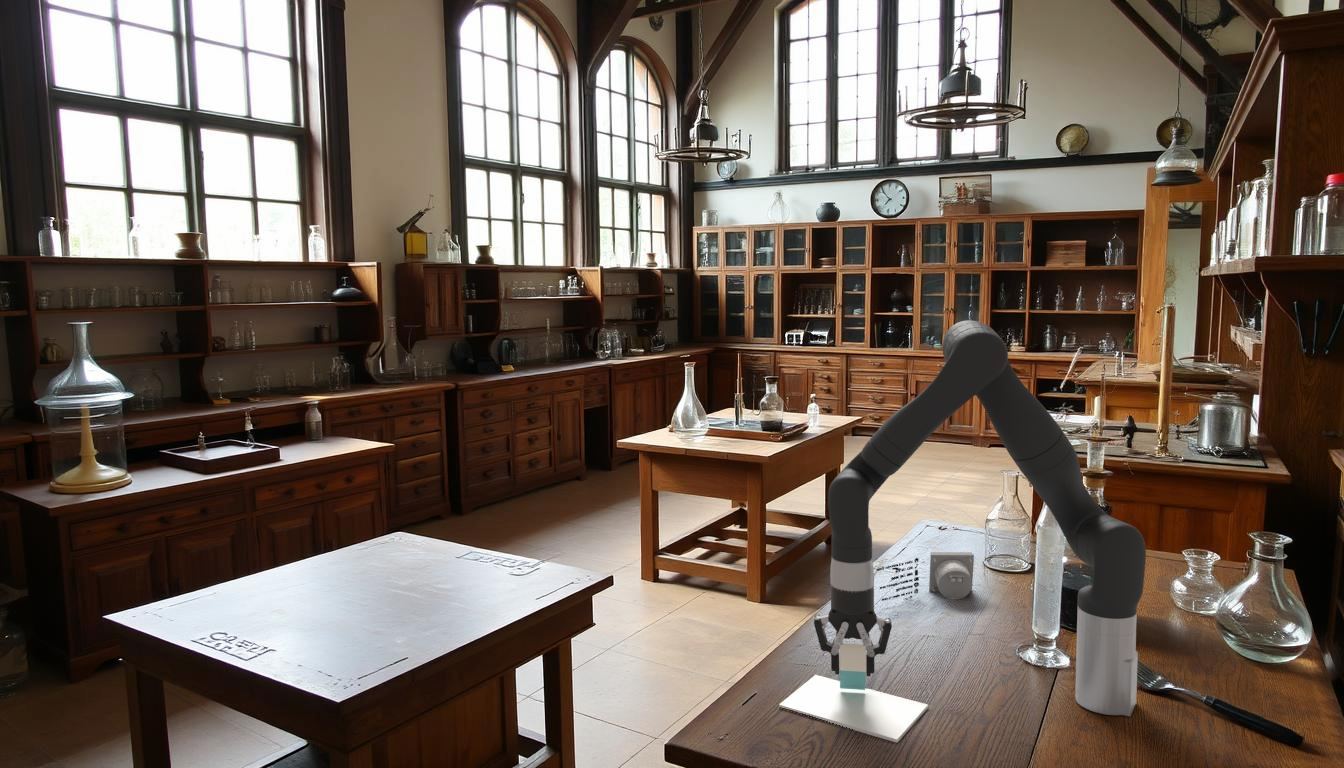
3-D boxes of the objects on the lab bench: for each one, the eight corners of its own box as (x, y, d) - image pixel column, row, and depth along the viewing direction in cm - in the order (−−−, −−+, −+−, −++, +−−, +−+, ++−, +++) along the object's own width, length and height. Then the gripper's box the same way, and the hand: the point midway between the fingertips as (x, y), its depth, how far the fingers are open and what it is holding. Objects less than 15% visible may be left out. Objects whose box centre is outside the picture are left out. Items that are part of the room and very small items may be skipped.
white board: (928, 707, 155) (928, 704, 155) (897, 742, 144) (897, 739, 144) (815, 677, 168) (815, 674, 168) (779, 707, 157) (779, 704, 157)
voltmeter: (952, 582, 217) (952, 543, 216) (988, 596, 207) (989, 556, 206) (868, 604, 205) (868, 563, 204) (903, 620, 195) (902, 577, 194)
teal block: (865, 665, 163) (865, 644, 156) (865, 690, 161) (866, 669, 153) (840, 664, 164) (839, 643, 157) (840, 688, 162) (839, 668, 154)
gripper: (810, 587, 154) (811, 680, 156) (894, 590, 151) (895, 685, 153) (811, 573, 161) (813, 662, 163) (892, 576, 158) (893, 666, 160)
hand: (852, 673), depth 158 cm, fingers open, 5 cm apart
